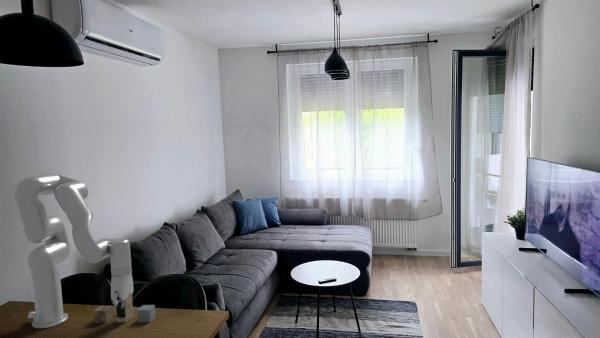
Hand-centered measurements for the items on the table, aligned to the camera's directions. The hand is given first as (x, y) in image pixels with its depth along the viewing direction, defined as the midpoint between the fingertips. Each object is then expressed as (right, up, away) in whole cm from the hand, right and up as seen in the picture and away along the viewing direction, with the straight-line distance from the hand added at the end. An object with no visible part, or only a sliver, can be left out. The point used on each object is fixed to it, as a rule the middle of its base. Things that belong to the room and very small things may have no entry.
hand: (124, 313), depth 168 cm
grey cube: (+9, -2, 0) cm, 9 cm away
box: (0, -3, 0) cm, 3 cm away
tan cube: (-9, -3, +1) cm, 9 cm away
